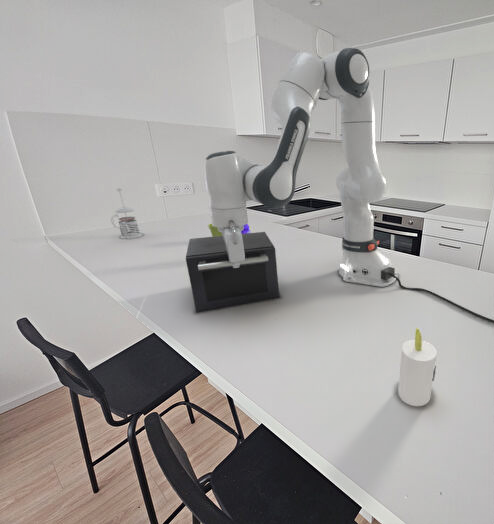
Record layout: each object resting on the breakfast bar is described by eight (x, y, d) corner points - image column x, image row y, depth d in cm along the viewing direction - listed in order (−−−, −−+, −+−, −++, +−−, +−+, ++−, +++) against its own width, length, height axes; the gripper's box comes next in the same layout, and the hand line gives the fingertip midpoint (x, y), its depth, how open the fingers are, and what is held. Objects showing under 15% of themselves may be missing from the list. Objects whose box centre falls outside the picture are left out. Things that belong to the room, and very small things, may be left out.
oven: (278, 295, 97) (274, 246, 90) (196, 310, 87) (185, 256, 81) (268, 275, 112) (264, 231, 106) (198, 285, 103) (189, 238, 97)
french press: (146, 235, 160) (134, 188, 151) (121, 240, 151) (107, 190, 142) (137, 232, 165) (125, 186, 156) (112, 237, 155) (98, 188, 146)
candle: (429, 410, 55) (439, 343, 49) (394, 400, 57) (400, 334, 51) (433, 387, 60) (442, 324, 55) (401, 378, 62) (407, 316, 57)
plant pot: (211, 239, 154) (208, 223, 151) (230, 237, 157) (228, 221, 154) (209, 244, 146) (206, 227, 143) (229, 243, 149) (227, 226, 146)
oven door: (281, 302, 92) (277, 251, 86) (195, 318, 82) (184, 263, 77) (278, 295, 96) (274, 246, 90) (196, 310, 87) (186, 256, 81)
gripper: (247, 224, 69) (253, 278, 74) (238, 210, 87) (243, 254, 92) (218, 227, 67) (226, 283, 72) (214, 211, 84) (221, 257, 89)
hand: (236, 267), depth 82 cm, fingers closed, pressing on oven door
